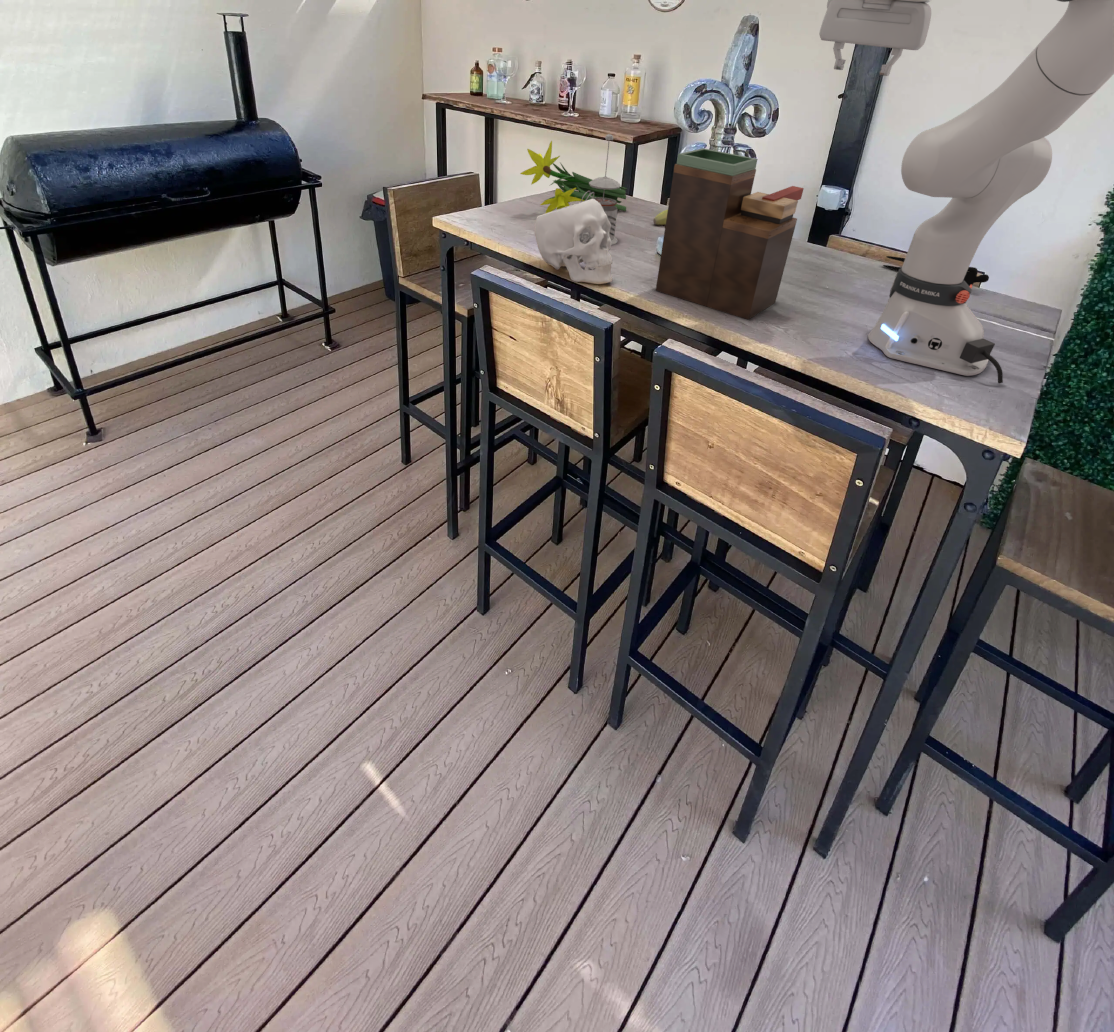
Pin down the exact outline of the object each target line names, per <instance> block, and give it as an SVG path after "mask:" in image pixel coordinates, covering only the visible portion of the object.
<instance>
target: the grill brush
mask: <svg viewBox="0 0 1114 1032" xmlns="http://www.w3.org/2000/svg"><path fill="white" fill-rule="evenodd" d="M804 189H805V188H804V187H799V186H795V185H791V186H788V187H786V188H783V189H780V190H777V191H774V192H773V193H765V192H761V191H757V192H753V193H751V194H750V195H748V196H745V197H743V201H742V206H741V210H742V211H741V215H743V216H747V217H751V218H755V219H760V220H764V221H768V222H772V223H776V224H781V223H783V222H785V221H788V220H790V219H792V218H794V215H795V214H796V210H797V207H798V203H799V200H802V198H803V197H802V196H803V193H804Z"/></svg>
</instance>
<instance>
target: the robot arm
mask: <svg viewBox="0 0 1114 1032" xmlns="http://www.w3.org/2000/svg"><path fill="white" fill-rule="evenodd" d="M1056 1H1057V2H1062V3H1068V4H1067V8H1066V10H1065V12H1064V13H1063V15H1062V16H1061V18H1060V19H1059V21H1058V22H1057V23H1056V24H1055V25H1054V26H1053V28H1052V29H1050V31H1049V32H1048V33H1047V34H1046V35H1045V36H1044V38H1042V40H1041V41H1040V42H1039V43H1038V44H1037V45H1036V47H1034V49H1032V51H1031V52H1030V53H1029V54H1028V56H1026V57H1025V59H1024V60H1023V61H1022V62H1021V63H1020V64H1019V65H1018V66H1017V67H1016V68H1015V69H1014V71H1013V72H1012V73H1011V74H1010V75H1009V76H1008V77H1007V78H1006V79H1005V80H1004V81H1003V82H1002V83H1001V84H999V86H998V87H997V88H995V89H994V90H993V91H992V92H990V93H989V94H988V95H986V96H985V97H984V98H982V99H981V100H979V101H978V102H977V103H974V104H973V105H972V106H971V107H969V108H967V109H966V110H964V111H963V112H961V113H960V114H958V115H956V116H955V117H953V118H951V119H949V120H947V121H946V122H943V123H941V124H939V125H937V126H935V127H931V128H929V129H926V130H922V131H921V132H920V133H918V134H917V135H916V136H915V137H914V138H913V139H912V141H911V142H910V143H909V145H908V146H907V148H906V150H905V152H904V154H903V156H902V160H901V165H900V166H901V169H900V172H901V179H902V182H903V184H904V186H905V187H906V188H907V189H908V190H909V191H911V192H914V193H917V194H921V195H923V196H928V197H931V198H951V199H950V200H949V202H948V203H947V204H946V205H945V206H944V207H943V208H942V209H941V210H940V211H939V212H937V213H936V214H935V215H933V216H931V217H929V218H927V219H926V220H924V221H922V222H921V224H919V226H918V227H917V228H916V230H915V231H914V233H913V236H912V239H911V241H910V244H909V247H908V249H907V252H906V255H905V257H904V258H905V261H904V262H902V266H900V267H901V268H900V269H899V270H898V271H897V272H896V274H895V276H894V279H893V282H892V285H891V287H890V290H889V292H890V293H889V295H888V296H889V297H888V300H887V303H886V305H885V307H884V308H883V310H882V312H881V314H880V316H879V318H878V320H877V321H876V323H875V325H874V326H873V328H871V330H870V332H869V333H868V335H867V338H868V340H869V342H870V343H871V344H872V345H874V346H875V347H876V348H877V349H879V350H881V351H882V353H883V354H884V355H885V356H886V357H887V358H890V359H892V360H898V361H901V362H906V363H910V364H914V365H919V366H923V367H927V368H931V369H935V370H940V371H944V372H947V373H952V374H957V375H961V376H965V377H970V376H976V375H979V374H981V373H982V372H984V370H986V368H987V366H988V363H989V362H990V363H991V364H992V365H993V367H994V368H995V370H996V373H997V384H1002V383H1004V372H1003V369H1002V367H1001V365H1000V363H999V362H998V361H997V359H996V358H994V357H993V356H992V355H991V353H992V352H993V349H994V347H995V345H996V343H995V342H992V341H990V340H988V339H985V338H984V336H985V330H984V326H983V324H982V323H981V321H980V320H979V319H978V318H977V316H976V315H975V314H974V313H973V311H972V310H971V308H970V307H969V305H967V302H968V300H969V298H970V295H971V293H972V289H973V285H972V284H971V285H970V286H969V285H968V284H967V283H966V282H965V281H964V280H963V279H964V277H965V275H966V272H968V271H967V270H968V268H969V267H971V266H970V265H971V264H972V261H973V259H974V257H975V256H976V255H975V254H976V252H977V251H978V248H979V246H980V245H981V243H982V241H983V239H984V238H985V236H986V234H987V233H988V231H989V230H990V229H991V228H992V227H993V225H994V224H995V223H996V222H997V220H998V219H999V218H1001V216H1002V215H1003V214H1004V213H1005V212H1006V211H1007V210H1008V209H1009V208H1010V207H1012V205H1014V204H1015V203H1016V202H1018V201H1019V200H1020V199H1021V198H1023V197H1024V196H1026V195H1028V194H1030V193H1032V192H1033V191H1034V190H1036V189H1037V188H1038V187H1039V186H1040V185H1041V184H1042V182H1043V181H1044V180H1045V178H1046V177H1047V176H1048V174H1049V171H1050V168H1051V166H1052V162H1053V149H1052V145H1051V143H1050V141H1049V140H1048V139H1047V138H1046V137H1047V136H1049V135H1051V134H1052V133H1054V132H1056V130H1058V129H1059V128H1060V127H1061V126H1062V125H1063V124H1064V123H1066V121H1067V120H1068V119H1070V118H1071V117H1072V116H1073V115H1074V114H1075V113H1076V112H1077V111H1078V110H1079V109H1080V108H1081V107H1082V106H1083V105H1084V104H1085V103H1086V102H1087V101H1088V100H1089V99H1090V98H1091V97H1092V96H1093V95H1095V94H1096V93H1097V92H1098V91H1099V90H1100V89H1101V88H1102V87H1103V86H1104V85H1105V84H1106V83H1107V82H1108V81H1109V80H1110V79H1111V78H1112V77H1113V75H1114V0H1056ZM930 2H932V0H827V3H826V11H825V14H824V16H823V19H822V22H821V25H820V29H819V38H820V40H821V41H824V42H825V41H826V42H833V47H832V49H833V54H834V55H833V56H834V59H835V62H834V66H833V70H835V71H843V70H844V68H845V64H846V60H847V59H844V58H843V55H842V50H843V49H844V48H845V44H853V45H860V46H861V45H862V46H870V47H879V48H888V49H889V48H890V49H891V53H890V55H891V56H892V57H891V58H890V60H889V61H888V62H887V63H886V64H881V67H880V69H881V70H880V71H879V76H883V77H884V76H885V77H889V76H890V74H891V70H892V67H893V66H894V65H895V63H897V61H898V60H899V59H900V58H901V57H902V53H903V51H904V50H908V51H919V50H921V48H922V47H924V45H925V43H926V40H927V36H928V33H929V29H930V24H931V18H932V8H931V5H929V3H930Z"/></svg>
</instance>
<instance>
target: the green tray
mask: <svg viewBox="0 0 1114 1032" xmlns="http://www.w3.org/2000/svg"><path fill="white" fill-rule="evenodd" d="M676 164H678V165H683V166H687V167H692V168H697V169H701V170H706V171H711V172H716V173H720V174H725V175H730V176H734V175H738V174H741V173H744V172H748V171H751V170H754V169H756V170H757V165H758V158H756V157H750V156H745V155H741V154H740V155H739V154H735V153H731V152H725V151H719V150H715V149H709V148H705V147H703V148H698V149H694V150H689V151H684V152H681V153H678V154H677V159H676Z"/></svg>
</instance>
